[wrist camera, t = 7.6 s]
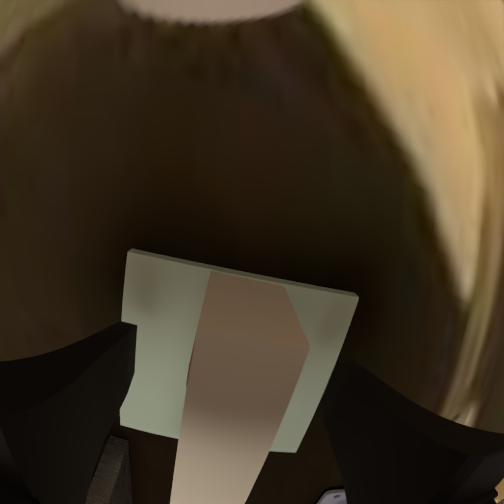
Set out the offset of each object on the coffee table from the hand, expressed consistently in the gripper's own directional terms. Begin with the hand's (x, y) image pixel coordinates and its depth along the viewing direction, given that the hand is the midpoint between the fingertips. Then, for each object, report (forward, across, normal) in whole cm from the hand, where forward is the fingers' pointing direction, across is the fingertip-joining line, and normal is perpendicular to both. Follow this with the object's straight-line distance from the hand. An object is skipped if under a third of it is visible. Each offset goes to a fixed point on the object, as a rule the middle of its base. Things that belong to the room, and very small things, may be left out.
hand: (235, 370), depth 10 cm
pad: (+4, 0, +2) cm, 4 cm away
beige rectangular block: (+3, 0, +3) cm, 4 cm away
